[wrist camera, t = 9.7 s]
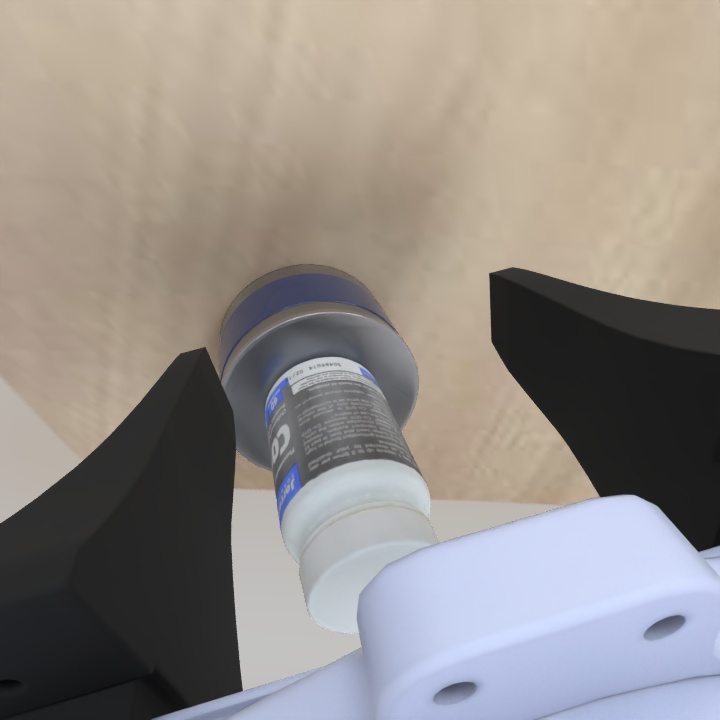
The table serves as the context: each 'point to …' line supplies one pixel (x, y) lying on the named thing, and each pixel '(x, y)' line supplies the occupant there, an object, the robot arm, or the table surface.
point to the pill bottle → (342, 484)
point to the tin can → (306, 344)
